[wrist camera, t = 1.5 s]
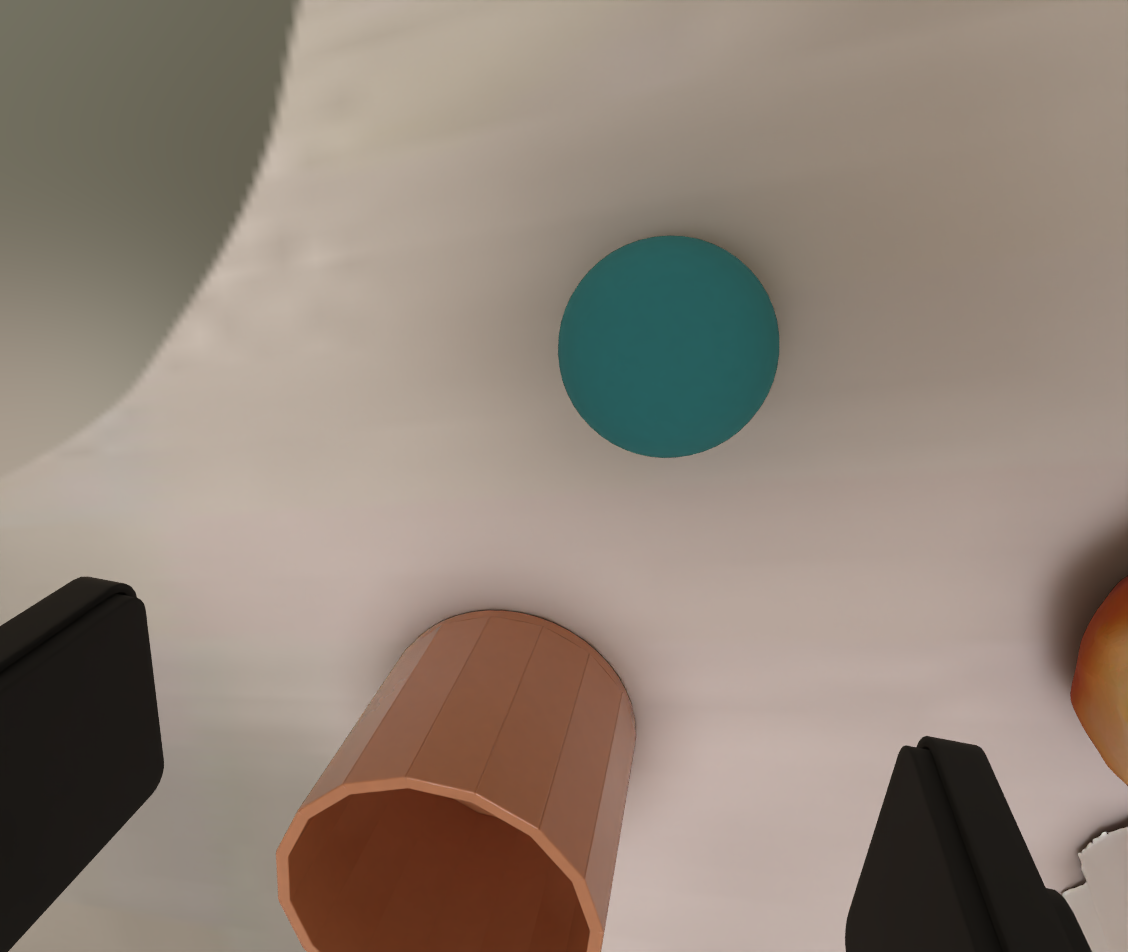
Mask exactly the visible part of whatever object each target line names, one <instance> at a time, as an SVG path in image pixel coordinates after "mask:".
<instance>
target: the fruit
mask: <svg viewBox="0 0 1128 952" xmlns="http://www.w3.org/2000/svg"><path fill="white" fill-rule="evenodd" d="M1070 694H1071V703H1072V705H1073V708H1074V710H1075V712H1076V714H1077V716H1078V718H1079V720H1080V722H1081V724H1082V726H1083V728H1084V730H1085V731H1086V733H1087V735H1088V736H1089V738H1090V739H1091V741H1092V742H1093V744H1094V745H1095V747H1096V748H1097V750H1098V751H1099V753H1100V755H1101V757H1102V758H1103V760H1104V761H1105V763H1106V764H1107V766H1108V767H1109V768H1110V769H1111V770H1112V771H1113V772H1114V773H1115V774H1116V775H1117V776H1118V777H1119V778H1120V779H1121V780H1122V781H1123V782H1124V783H1125V784H1126V785H1127V786H1128V576H1127V577H1125V578H1124V579H1122V580H1121V581H1120V582H1119V583H1118V584H1117V585H1116V586H1115V587H1114V588H1113V589H1112V591H1111V592H1110V593H1109V595H1108V596H1107V597H1106V599H1105V600H1104V601H1103V603H1102V604H1101V605H1100V607H1099V608H1098V609H1097V611H1096V612H1095V614H1094V616H1093V617H1092V619H1091V621H1090V623H1089V625H1088V627H1087V629H1086V631H1085V633H1084V635H1083V638H1082V640H1081V644H1080V648H1079V654H1078V659H1077V665H1076V670H1075V674H1074V678H1073V682H1072V687H1071V693H1070Z"/></svg>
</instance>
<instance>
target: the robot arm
mask: <svg viewBox="0 0 1128 952" xmlns="http://www.w3.org/2000/svg"><path fill="white" fill-rule="evenodd" d="M163 769H164V758H163V750H162V742H161V733H160V725H159V717H158V709H157V700H156V692H155V684H154V675H153V667H152V659H151V651H150V642H149V634H148V626H147V617H146V610H145V606H144V603H143V602H142V601H141V600H140V599H138V598H137V597H136V593H135V591H134V590H133V588H132V587H131V586H129V585H127V584H124V583H119V582H113V581H108V580H103V579H97V578H92V577H80V578H77V579H75V580H73V581H71V582H70V583H68V584H66V585H65V586H63V587H62V588H60V589H58V590H57V591H55V592H54V593H52V594H50V595H49V596H47V597H46V598H44V599H43V600H41V601H39V602H38V603H36V604H35V605H33V606H31V607H30V608H28V609H27V610H25V611H24V612H22V613H20V614H19V615H17V616H16V617H14V618H12V619H11V620H9V621H8V622H6V623H5V624H3V625H1V626H0V952H8V951H9V950H10V949H11V948H12V947H13V946H14V945H15V943H16V942H17V941H18V940H19V939H20V938H21V937H22V936H23V935H24V934H25V932H26V931H27V930H28V929H29V928H30V927H31V926H32V925H33V924H34V923H35V922H36V920H37V919H38V918H39V917H40V916H41V915H42V914H43V913H44V912H45V911H46V910H47V908H48V907H49V906H50V905H51V904H52V903H53V902H54V901H55V900H56V899H57V898H58V896H59V895H60V894H61V893H62V892H63V891H64V890H65V889H66V888H67V887H68V885H69V884H70V883H71V882H72V881H73V880H74V879H75V878H76V877H77V876H78V875H79V873H80V872H81V871H82V870H83V869H84V868H85V867H86V866H87V865H88V864H89V863H90V861H91V860H92V859H93V858H94V857H95V856H96V855H97V854H98V853H99V852H100V851H101V849H102V848H103V847H104V846H105V845H106V844H107V843H108V842H109V841H110V840H111V838H112V837H113V836H114V835H115V834H116V833H117V832H118V831H119V830H120V829H121V828H122V826H123V825H124V824H125V823H126V822H127V821H128V820H129V819H130V818H131V817H132V816H133V814H134V813H135V812H136V811H137V810H138V809H139V808H140V807H141V806H142V805H143V803H144V802H145V801H146V800H147V799H148V798H149V797H150V796H151V795H152V793H153V792H154V791H155V789H156V788H157V786H158V784H159V782H160V780H161V777H162V774H163ZM845 946H846V952H1092V951H1091V948H1090V946H1089V944H1088V942H1087V940H1086V938H1085V936H1084V934H1083V932H1082V929H1081V927H1080V925H1079V923H1078V921H1077V919H1076V917H1075V915H1074V913H1073V911H1072V909H1071V908H1070V906H1069V904H1068V903H1067V901H1066V900H1065V898H1064V897H1063V896H1062V895H1060V894H1059V893H1058V892H1057V891H1056V890H1053V889H1048V888H1045V886H1044V883H1043V881H1042V879H1041V877H1040V875H1039V872H1038V870H1037V868H1036V866H1035V863H1034V861H1033V859H1032V857H1031V854H1030V852H1029V850H1028V848H1027V846H1026V843H1025V841H1024V839H1023V837H1022V834H1021V832H1020V830H1019V828H1018V826H1017V823H1016V821H1015V819H1014V817H1013V814H1012V812H1011V810H1010V808H1009V806H1008V803H1007V801H1006V799H1005V797H1004V794H1003V792H1002V790H1001V788H1000V785H999V783H998V781H997V779H996V777H995V774H994V772H993V770H992V768H991V765H990V763H989V761H988V759H987V757H986V755H985V753H984V751H983V750H982V748H980V747H978V746H977V745H971V744H966V743H961V742H956V741H950V740H945V739H940V738H935V737H929V736H925V737H922V739H921V740H920V741H919V742H918V745H917V747H911V746H903V747H902V748H901V750H900V752H899V754H898V757H897V760H896V764H895V767H894V770H893V773H892V776H891V779H890V783H889V786H888V789H887V792H886V795H885V799H884V802H883V805H882V808H881V811H880V814H879V818H878V821H877V824H876V827H875V830H874V834H873V837H872V840H871V843H870V846H869V849H868V853H867V856H866V859H865V862H864V865H863V869H862V872H861V875H860V878H859V881H858V884H857V888H856V891H855V894H854V897H853V900H852V904H851V907H850V910H849V913H848V917H847V923H846V933H845Z"/></svg>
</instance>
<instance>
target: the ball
mask: <svg viewBox="0 0 1128 952" xmlns="http://www.w3.org/2000/svg"><path fill="white" fill-rule="evenodd" d="M558 357H559V367H560V372H561V376H562V380H563V383H564V386H565V389H566V391H567V394H568V396H569V398H570V400H571V401H572V403H573V405H574V407H575V408H576V410H577V411H578V413H579V414H580V415H581V417H582V418H583V419H584V420H585V421H586V422H587V423H588V425H589V426H590V427H591V428H592V429H594V430H595V431H596V432H597V433H598V434H599V435H601V436H602V437H603V438H605V439H606V440H608V441H609V442H611V443H612V444H614V445H616V446H618V447H620V448H622V449H625V450H627V451H630V452H633V453H636V454H640V455H645V456H649V457H660V458H672V457H682V456H688V455H693V454H696V453H700V452H704V451H706V450H708V449H711V448H713V447H716V446H718V445H719V444H721V443H723V442H724V441H726V440H728V439H729V438H731V437H732V436H733V435H735V434H736V433H737V432H739V431H740V430H741V429H742V428H743V427H744V426H745V425H746V424H747V423H748V422H749V421H750V420H751V419H752V417H753V416H754V415H755V413H756V412H757V411H758V410H759V408H760V407H761V405H762V404H763V402H764V400H765V398H766V397H767V395H768V393H769V390H770V388H771V386H772V383H773V381H774V377H775V373H776V370H777V365H778V357H779V331H778V324H777V319H776V315H775V312H774V308H773V306H772V303H771V301H770V299H769V297H768V294H767V292H766V291H765V289H764V288H763V286H762V284H761V283H760V281H759V280H758V279H757V277H756V276H755V275H754V274H753V273H752V271H751V270H750V269H749V268H748V267H747V266H746V265H744V264H743V263H742V262H741V261H740V260H739V259H738V258H736V257H735V256H733V255H732V254H731V253H729V252H728V251H726V250H724V249H722V248H720V247H718V246H716V245H714V244H712V243H709V242H706V241H703V240H700V239H696V238H691V237H685V236H658V237H651V238H647V239H642V240H638V241H636V242H633V243H630V244H627V245H625V246H623V247H621V248H619V249H617V250H615V251H613V252H612V253H610V254H609V255H607V256H606V257H605V258H603V259H602V260H600V261H599V262H598V263H597V264H596V265H595V266H594V267H593V268H592V269H591V270H590V271H589V272H588V273H587V274H586V276H585V277H584V278H583V279H582V280H581V282H580V283H579V284H578V286H577V288H576V289H575V291H574V292H573V294H572V296H571V298H570V300H569V302H568V304H567V306H566V309H565V311H564V315H563V318H562V321H561V326H560V332H559V344H558Z"/></svg>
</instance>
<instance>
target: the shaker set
mask: <svg viewBox="0 0 1128 952" xmlns="http://www.w3.org/2000/svg"><path fill="white" fill-rule="evenodd" d="M1108 833H1109V834H1107V832H1103V833H1102V834H1101V835H1100V836H1099V838H1094V839H1093V843H1091V842H1090V843H1089V844H1088V845H1087V847H1086V849H1083V851H1082V853H1078V856H1079V858H1080V861H1081V863H1082V864H1081V865H1082V866H1081V869H1082V872H1083V874H1084V877H1085V878H1086V880H1087V881H1086V882H1085V884H1084V885H1080V886H1078V887H1076V888H1073V889H1069V890H1068V891H1064V893H1063V894H1064V895H1063V894H1062V896H1063V897H1064V898H1065V900H1066V901H1067V903H1068V904H1069V906H1070V908H1071V909H1072V911H1073V913H1074V915H1075V917H1076V919H1077V921H1078V923H1079V925H1080V927H1081V929H1082V932H1083V934H1084V936H1085V938H1086V940H1087V942H1088V944H1089V946H1090V948H1091V951H1092V952H1128V827H1126V828H1121V829H1119V830H1116V831H1112V832H1108Z"/></svg>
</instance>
